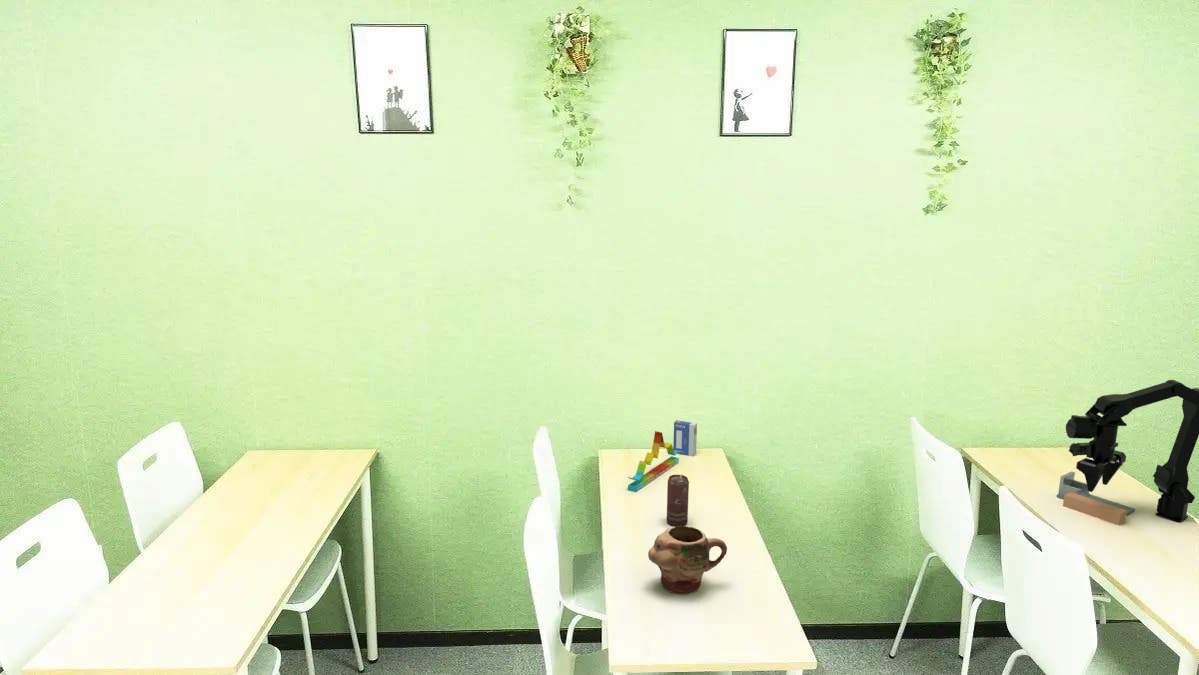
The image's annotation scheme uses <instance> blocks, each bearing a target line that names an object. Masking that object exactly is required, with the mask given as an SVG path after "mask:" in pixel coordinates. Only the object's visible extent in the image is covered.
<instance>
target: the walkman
mask: <svg viewBox="0 0 1199 675" xmlns="http://www.w3.org/2000/svg"><path fill="white" fill-rule="evenodd" d="M697 435H698V423H696V422H692V421H691V422H690V421H683V420H677V419H676V420H675V421H674V422H673V442H672V446H673V450H674V451H678V453H677V454H676V455H682V456H690V457H694V456H696V455H697V442H698V441H697Z"/></svg>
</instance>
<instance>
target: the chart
mask: <svg viewBox="0 0 1199 675" xmlns="http://www.w3.org/2000/svg"><path fill="white" fill-rule="evenodd" d="M660 448H664V449H666V453H667V455H671V456H670V457H668V458H667V459H665V460H664V461H663V462H661V463H659V464H658V465H656V466H655V467H653V468H652V469H651V470H649V471H647V472H646V473H645V471H646V468H647V466H651V465H652V462H653V459H658V458H659V453H660ZM677 453H678V451H674V450H673V443H670V442H665V441H664V436H663V432H661V431H654V435H653V442H652V448H651V452H646V454H645V455H646V456H645V458H644V460H639V462H638V466H637V469H636V472H635V474H634V476H632V477H629V476H627V478H628V479H629V480H633V482H631V483H629V484H628V485H627V491H629V492H633V493H637V492H639V491H640V490H641V489H643V488H644V487H646V486H647V485H649V484H650V483H651V482H653V481H655V480H656V479H657V478H659V477H660V476H661V475H663V474H665V473H666V472H667V471H669V470H670V469H672V468H673V467H674V466H676V465H677V464H679V462H680V457H676V455H678V454H677Z"/></svg>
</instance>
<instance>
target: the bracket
mask: <svg viewBox="0 0 1199 675" xmlns="http://www.w3.org/2000/svg"><path fill="white" fill-rule="evenodd" d="M1075 474H1076V472H1075V471H1069V472H1068V473H1065V474H1063V475H1060V478H1059V485H1058V486H1059V487H1058V492H1057V494H1060V495H1063V496H1064V495H1065V494H1068V493H1070V492H1072V493H1075V494H1078V495H1080V493H1081V494H1084V495H1087V496H1088V495H1089V494H1090V491H1088V488H1087V483H1086V482H1083V481H1080V480H1076V479H1075Z"/></svg>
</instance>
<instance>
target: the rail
mask: <svg viewBox="0 0 1199 675" xmlns="http://www.w3.org/2000/svg"><path fill="white" fill-rule="evenodd" d="M1062 507H1065V508H1067V509H1070V510H1073V511H1076V512H1078V513H1082V514H1084V515H1086V516H1089V517H1093V518H1096V519H1099V520H1101V521H1102V520H1103V521H1105V522H1108V523H1111V524H1114V525H1117V526H1120V525H1122V524H1124V523H1126V517H1127V516H1126V513H1127V510H1124V509H1121V508H1118V507H1115V506H1112V505H1109V504H1106V503H1103V502H1100V501H1097V500H1094V499H1091V498H1088V497H1084V496H1081V495H1078V494H1075V493H1072V492H1070V493H1068V494H1065V495H1064V499H1063V503H1062Z"/></svg>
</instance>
